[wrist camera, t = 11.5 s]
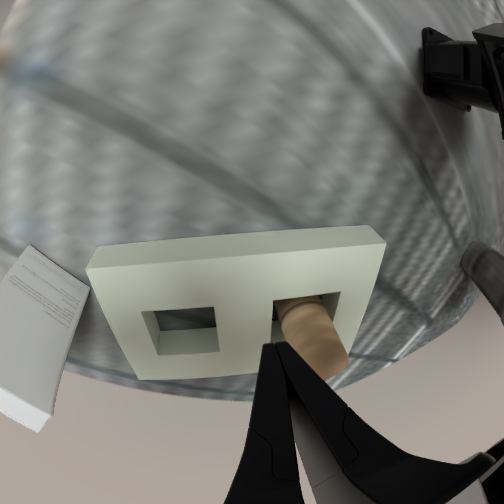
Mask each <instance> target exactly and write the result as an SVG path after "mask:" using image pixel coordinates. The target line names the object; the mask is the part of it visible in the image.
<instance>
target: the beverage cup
mask: <svg viewBox="0 0 504 504" xmlns="http://www.w3.org/2000/svg"><path fill="white" fill-rule="evenodd" d="M462 267H463V269H464V270H465V271H466V272H467V274H468V275H469V277H470V278H471V279H472V280H473V282H474V283H475V284H476V285H477V287H478V288H479V289H480V291H481V292H482V293H483V295H484V296H485V297H486V299H487V300H488V301H489V303H490V304H491V305H492V307H493V308H494V310H495V311H496V312H497V314H498V315H499V317H500V318H501V321H502V323H503V325H504V256H503V255H501V254H500V253H499V252H497V251H496V250H494V249H493V248H492V247H490V246H489V245H487V244H485V243H483V242H482V241H481V240H476V241H474V242H473V243H472V244H471V245H470V246H469V247H468V249H467V250H466V252H465V254H464V256H463V259H462Z"/></svg>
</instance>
